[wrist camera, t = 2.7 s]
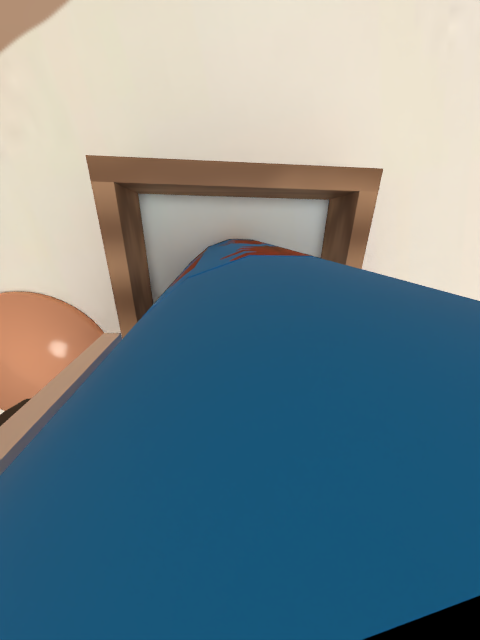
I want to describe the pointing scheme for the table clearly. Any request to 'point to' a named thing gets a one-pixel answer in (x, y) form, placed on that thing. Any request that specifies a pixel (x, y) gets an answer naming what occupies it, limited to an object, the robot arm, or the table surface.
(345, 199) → the frame
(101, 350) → the robot arm
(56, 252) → the table surface
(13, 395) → the terracotta disc
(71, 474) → the thermos
